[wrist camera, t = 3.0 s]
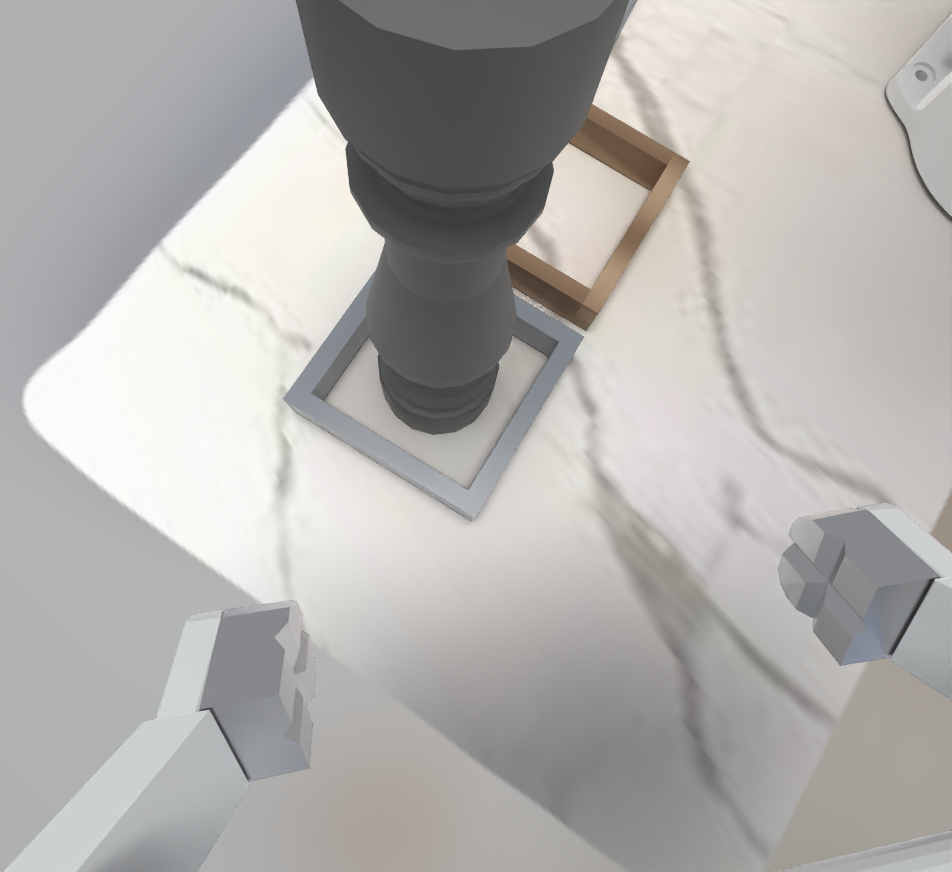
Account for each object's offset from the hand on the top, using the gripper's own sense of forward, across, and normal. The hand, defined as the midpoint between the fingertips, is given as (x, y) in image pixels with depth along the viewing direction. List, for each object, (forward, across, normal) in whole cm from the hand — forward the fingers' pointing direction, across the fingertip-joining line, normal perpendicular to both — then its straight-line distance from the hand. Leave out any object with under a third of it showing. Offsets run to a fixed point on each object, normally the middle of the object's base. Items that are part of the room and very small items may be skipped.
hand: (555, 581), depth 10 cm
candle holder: (+23, 0, +9) cm, 25 cm away
